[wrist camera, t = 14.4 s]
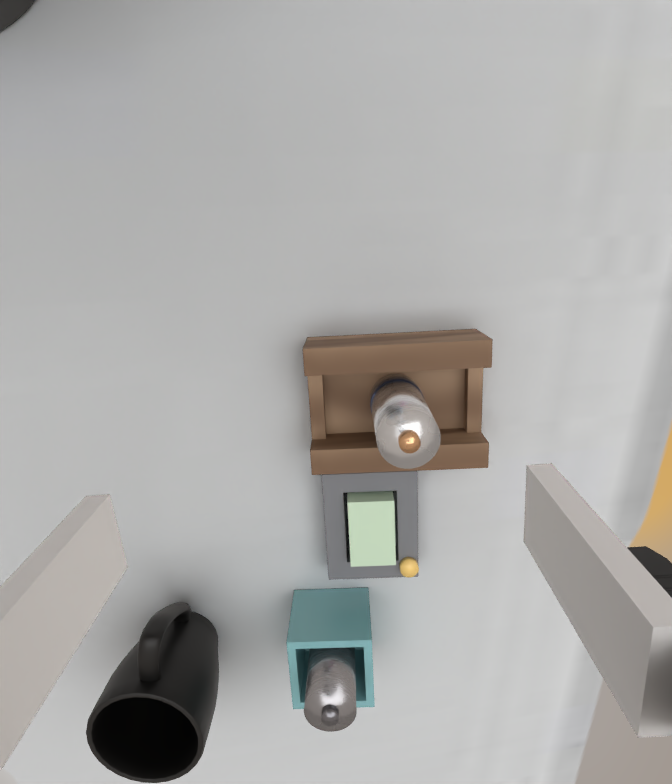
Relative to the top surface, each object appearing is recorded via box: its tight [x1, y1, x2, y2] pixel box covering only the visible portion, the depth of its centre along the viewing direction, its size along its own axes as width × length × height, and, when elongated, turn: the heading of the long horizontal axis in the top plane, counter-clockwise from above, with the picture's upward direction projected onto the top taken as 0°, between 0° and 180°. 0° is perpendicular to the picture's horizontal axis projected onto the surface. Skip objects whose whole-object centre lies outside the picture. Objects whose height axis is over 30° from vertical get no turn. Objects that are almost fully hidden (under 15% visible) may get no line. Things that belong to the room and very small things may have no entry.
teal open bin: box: [286, 588, 374, 709], centre depth 40 cm, size 6×6×6 cm
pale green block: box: [347, 491, 396, 567], centre depth 38 cm, size 5×3×2 cm, turn 3°
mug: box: [86, 602, 219, 783], centre depth 39 cm, size 8×12×10 cm
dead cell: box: [304, 647, 356, 731], centre depth 38 cm, size 4×4×9 cm
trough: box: [303, 329, 492, 475], centre depth 35 cm, size 9×12×4 cm
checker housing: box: [322, 471, 419, 580], centre depth 39 cm, size 9×7×3 cm
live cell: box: [370, 374, 441, 469], centre depth 32 cm, size 4×4×9 cm
